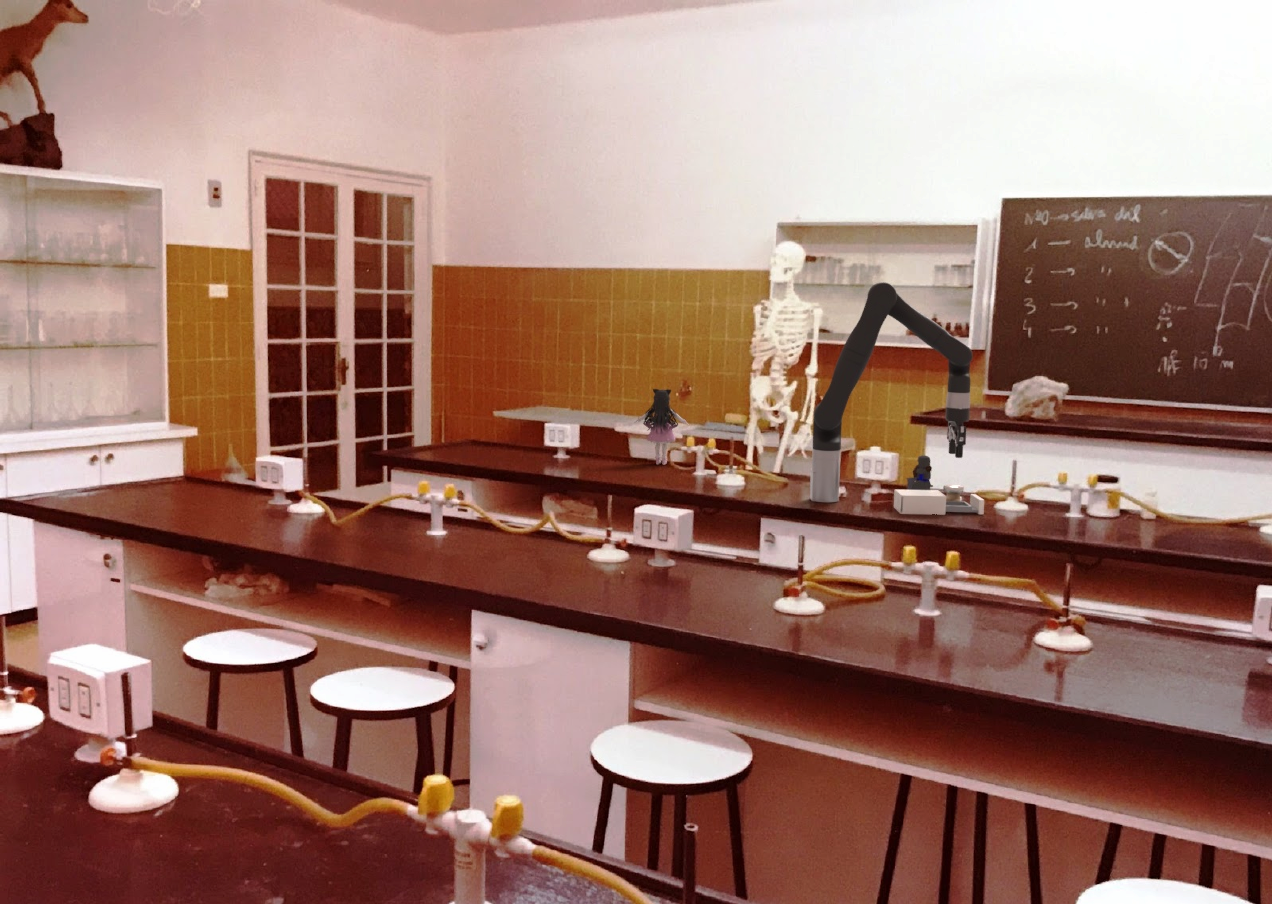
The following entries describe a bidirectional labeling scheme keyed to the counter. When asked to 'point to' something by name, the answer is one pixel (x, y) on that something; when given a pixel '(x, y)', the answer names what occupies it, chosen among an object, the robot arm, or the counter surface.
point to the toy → (921, 475)
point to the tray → (966, 505)
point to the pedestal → (952, 496)
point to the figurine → (661, 423)
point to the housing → (919, 502)
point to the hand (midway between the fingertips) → (955, 455)
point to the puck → (953, 488)
